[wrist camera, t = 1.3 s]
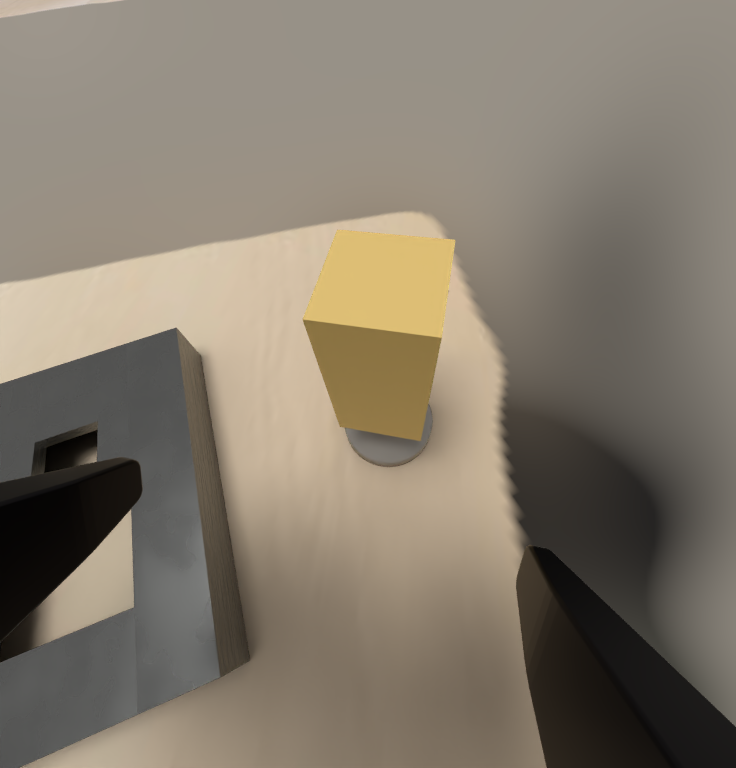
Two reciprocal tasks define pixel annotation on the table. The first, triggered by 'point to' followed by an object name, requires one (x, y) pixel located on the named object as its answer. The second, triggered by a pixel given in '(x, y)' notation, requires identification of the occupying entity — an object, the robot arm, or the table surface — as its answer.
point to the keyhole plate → (149, 542)
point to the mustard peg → (381, 337)
